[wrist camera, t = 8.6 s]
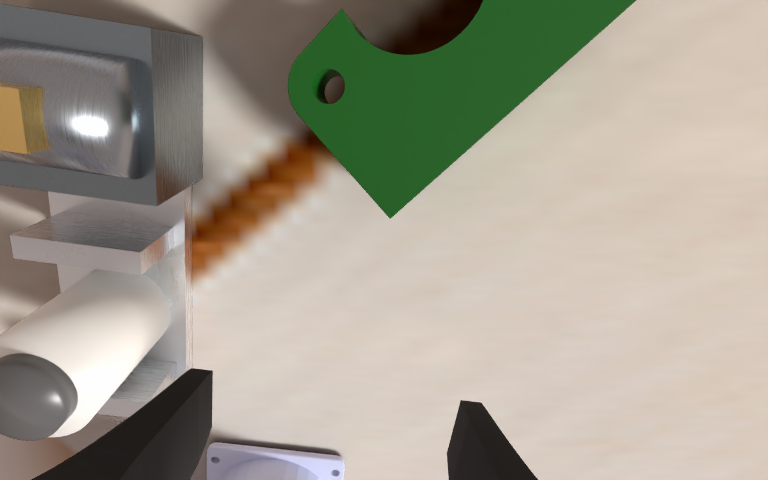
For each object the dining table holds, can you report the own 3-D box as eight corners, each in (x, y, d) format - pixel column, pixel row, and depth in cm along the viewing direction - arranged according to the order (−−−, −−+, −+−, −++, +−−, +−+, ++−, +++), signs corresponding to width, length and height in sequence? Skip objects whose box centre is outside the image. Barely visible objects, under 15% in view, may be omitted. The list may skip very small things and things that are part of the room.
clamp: (475, -24, 21) (585, -241, 12) (556, 70, 22) (722, -77, 13) (283, 130, 20) (251, 6, 11) (374, 232, 20) (417, 194, 11)
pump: (185, 295, 22) (100, 390, 15) (149, 360, 23) (58, 471, 17) (96, 248, 21) (-33, 328, 14) (64, 318, 22) (-65, 419, 16)
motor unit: (201, 371, 24) (132, 486, 18) (69, 355, 24) (-53, 467, 17) (202, 36, 18) (97, 18, 12) (26, 8, 18) (-188, -28, 11)
